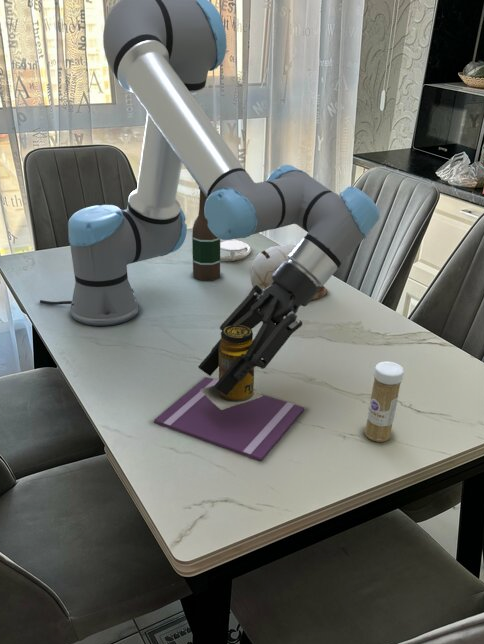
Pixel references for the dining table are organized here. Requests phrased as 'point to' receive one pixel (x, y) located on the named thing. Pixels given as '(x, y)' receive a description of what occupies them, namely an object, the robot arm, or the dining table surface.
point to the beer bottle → (205, 247)
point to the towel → (231, 421)
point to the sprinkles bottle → (383, 400)
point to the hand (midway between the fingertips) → (212, 380)
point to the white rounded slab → (233, 249)
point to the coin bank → (273, 267)
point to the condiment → (230, 349)
